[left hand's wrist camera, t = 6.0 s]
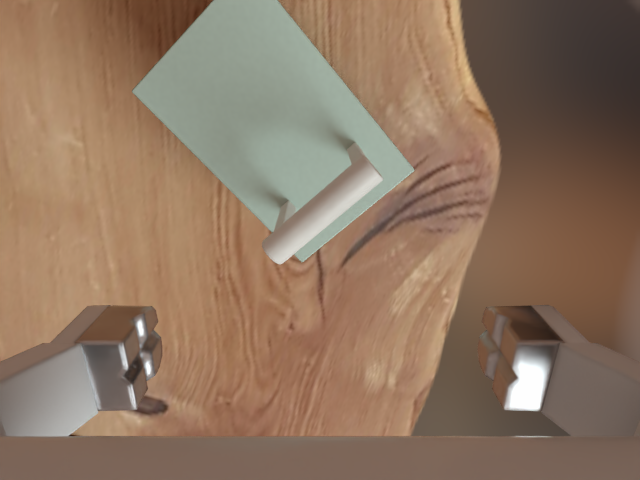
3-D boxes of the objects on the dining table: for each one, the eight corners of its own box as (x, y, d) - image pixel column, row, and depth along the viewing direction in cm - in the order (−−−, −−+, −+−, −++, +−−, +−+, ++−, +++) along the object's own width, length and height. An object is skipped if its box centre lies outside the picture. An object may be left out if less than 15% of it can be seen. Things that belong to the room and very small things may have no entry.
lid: (412, 167, 25) (448, 204, 18) (302, 257, 28) (296, 322, 20) (249, -34, 21) (213, -89, 14) (136, 90, 24) (56, 98, 17)
